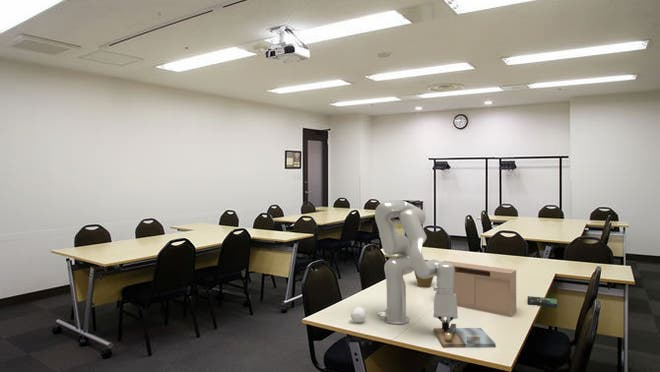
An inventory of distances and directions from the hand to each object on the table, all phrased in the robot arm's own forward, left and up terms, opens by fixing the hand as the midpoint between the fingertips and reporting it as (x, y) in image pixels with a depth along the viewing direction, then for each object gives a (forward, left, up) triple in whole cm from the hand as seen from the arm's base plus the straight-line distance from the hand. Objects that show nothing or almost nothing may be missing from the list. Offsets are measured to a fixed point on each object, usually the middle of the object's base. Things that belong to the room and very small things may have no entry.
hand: (445, 330), depth 188 cm
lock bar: (+1, -5, -1) cm, 5 cm away
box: (+26, +39, -3) cm, 47 cm away
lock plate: (+7, -4, -2) cm, 8 cm away
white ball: (-38, +18, -3) cm, 42 cm away
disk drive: (+65, +45, -3) cm, 79 cm away
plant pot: (+8, +83, -3) cm, 83 cm away
